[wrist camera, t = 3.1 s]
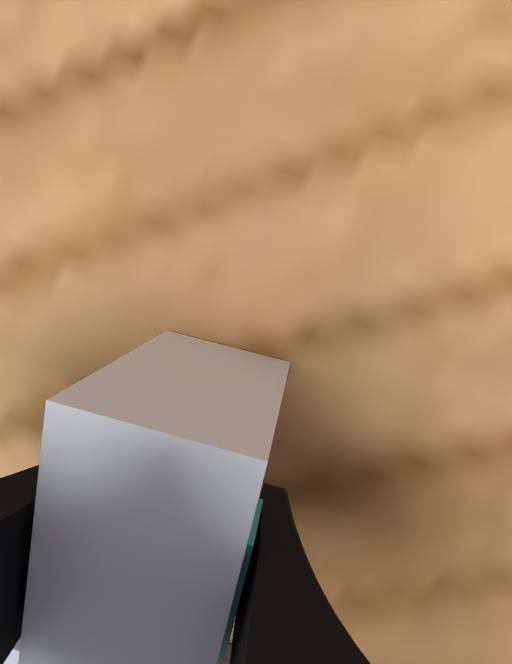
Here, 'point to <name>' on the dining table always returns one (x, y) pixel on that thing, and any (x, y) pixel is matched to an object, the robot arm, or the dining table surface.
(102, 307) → the dining table surface
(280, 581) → the robot arm
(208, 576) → the block
